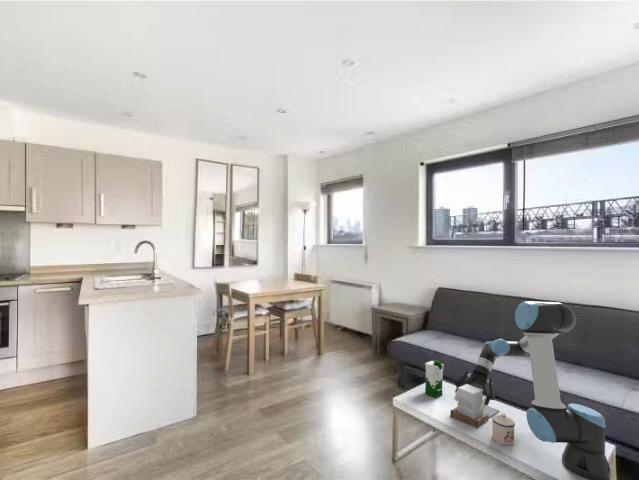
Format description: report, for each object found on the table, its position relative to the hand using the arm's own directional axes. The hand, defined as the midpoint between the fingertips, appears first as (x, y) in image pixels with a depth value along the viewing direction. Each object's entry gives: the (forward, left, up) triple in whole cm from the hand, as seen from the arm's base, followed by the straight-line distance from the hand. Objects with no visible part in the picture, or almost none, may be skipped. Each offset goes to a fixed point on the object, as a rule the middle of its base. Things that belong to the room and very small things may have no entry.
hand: (468, 404), depth 167 cm
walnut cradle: (+1, -1, -7) cm, 7 cm away
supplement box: (+1, -1, -7) cm, 7 cm away
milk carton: (+27, +9, -7) cm, 29 cm away
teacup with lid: (-17, -9, -7) cm, 21 cm away
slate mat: (+10, -12, -7) cm, 17 cm away
